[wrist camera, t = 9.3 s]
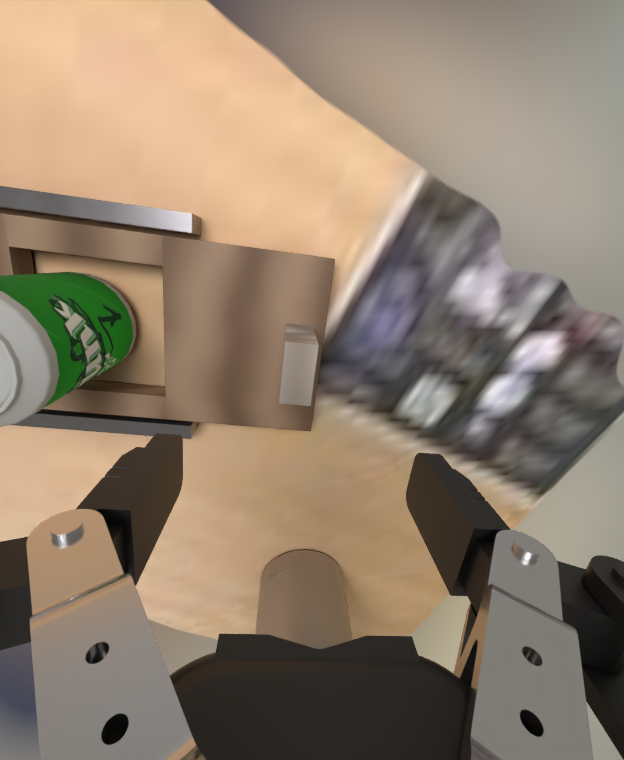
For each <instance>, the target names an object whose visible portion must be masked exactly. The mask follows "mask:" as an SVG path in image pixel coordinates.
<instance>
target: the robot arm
mask: <svg viewBox="0 0 624 760" xmlns="http://www.w3.org/2000/svg"><path fill="white" fill-rule="evenodd" d="M182 480H183V440H182V436H181V435H177V434H163V433H156V434H155V435H154V437H153V438H152V439H151V440H150V442H149V443H148V444H147V445H146V447H145V448H141V447H136V448H134V449H133V450H131V451H129V452H127V453H126V454H124V455H122V456H121V457H120V459H119V460H118V461H117V462H116V463H115V464H114V465H113V468H112V469H110V470H109V471H108V472H107V474H106V475H105V477H104V478H102V479H101V480H100V482H99V483H98V484H97V485H96V486H95V487H94V489H93V490H92V491H91V492H90V493H89V494H88V495H87V497H86V498H85V499H84V500H83V501H82V502H81V504H80V505H79V506H78V507H77V508H76V509H75V510H69V511H66V512H62V513H60V514H57V515H55V516H52V517H50V518H49V519H47V520H45V521H44V522H42V523H41V524H39V525H38V526H37V527H36V528H35V529H34V530H33V531H32V532H31V533H30V535H29V537H24V538H19V539H13V540H8V541H2V542H0V650H3V649H7V648H10V647H14V646H17V645H21V644H25V643H28V642H31V645H32V658H33V671H34V684H35V696H36V707H37V708H36V709H37V722H38V734H39V746H40V759H41V760H593V753H592V745H591V737H590V728H589V722H588V712H587V705H586V701H587V703H588V704H589V706H590V707H591V709H592V711H593V712H594V714H595V715H596V717H597V718H598V720H599V722H600V723H601V725H602V726H603V727H604V730H605V731H606V733H607V734H608V736H609V737H610V739H611V741H612V742H613V744H614V745H615V747H616V748H617V750H618V752H619V753H620V755H621V756H622V758H623V759H624V562H622V561H620V560H618V559H615V558H612V557H608V556H595V557H593V558H592V559H591V561H590V563H589V565H588V567H587V569H583V568H579V567H576V566H572V565H569V564H565V563H562V562H559V561H557V560H556V558H555V557H554V555H553V554H552V553H551V551H550V550H549V549H548V548H546V547H545V546H544V545H543V544H542V543H540V542H539V541H537V540H536V539H534V538H532V537H530V536H528V535H526V534H524V533H521V532H518V531H514V530H510V528H509V527H508V526H507V525H506V524H505V522H504V521H503V520H502V519H501V518H500V516H499V515H498V514H497V513H496V512H495V510H494V509H493V508H492V507H491V506H490V504H489V503H488V502H487V501H485V498H484V497H483V496H482V495H481V493H480V492H477V489H476V487H475V486H474V485H473V484H472V483H471V481H470V480H469V479H468V478H466V477H465V476H464V475H462V474H461V473H459V472H458V471H457V470H455V469H452V468H451V466H450V465H449V464H448V463H447V461H446V460H445V459H444V458H443V456H442V455H440V454H430V453H418V454H417V455H416V456H415V459H414V463H413V467H412V471H411V475H410V479H409V482H408V486H407V491H406V501H407V506H408V509H409V511H410V513H411V515H412V517H413V519H414V521H415V523H416V525H417V527H418V529H419V531H420V534H421V536H422V538H423V540H424V542H425V544H426V546H427V548H428V550H429V552H430V554H431V556H432V558H433V560H434V562H435V564H436V566H437V568H438V571H439V573H440V575H441V577H442V579H443V581H444V583H445V585H446V587H447V589H448V591H449V593H450V595H451V596H468V598H469V600H470V605H469V608H468V610H467V615H466V619H465V624H464V628H463V633H462V638H461V642H460V647H459V652H458V656H457V661H456V665H455V670H454V673H452V672H450V671H449V670H447V669H446V668H444V667H442V666H441V665H439V664H437V663H435V662H433V661H431V660H429V659H426V658H424V657H422V656H418V654H417V651H416V648H415V645H414V642H413V639H412V637H410V636H365V637H361V638H358V639H354V640H353V638H352V632H351V626H350V620H349V614H348V607H347V601H346V595H345V589H344V583H343V577H342V572H341V570H340V567H339V566H338V564H337V563H336V562H335V561H334V560H333V559H332V558H330V557H329V556H327V555H325V554H323V553H320V552H316V551H310V550H298V551H292V552H288V553H285V554H283V555H280V556H278V557H277V558H275V559H274V560H272V561H271V562H270V563H269V564H268V565H267V566H266V568H265V569H264V571H263V573H262V576H261V581H260V592H259V603H258V613H257V622H256V633H255V634H219V638H218V644H217V649H216V653H212V654H209V655H206V656H203V657H201V658H199V659H196V660H194V661H192V662H190V663H188V664H187V665H185V666H183V667H181V668H180V669H178V670H177V671H175V672H174V673H173V674H171V675H170V676H169V674H168V671H167V669H166V666H165V663H164V660H163V658H162V655H161V653H160V650H159V647H158V645H157V642H156V639H155V637H154V634H153V631H152V629H151V626H150V624H149V621H148V618H147V616H146V613H145V610H144V608H143V605H142V602H141V600H140V597H139V595H138V592H137V589H136V587H135V586H136V584H137V582H138V580H139V578H140V576H141V574H142V572H143V570H144V567H145V565H146V563H147V561H148V559H149V557H150V555H151V553H152V551H153V548H154V546H155V544H156V542H157V540H158V538H159V536H160V534H161V532H162V529H163V527H164V525H165V523H166V521H167V519H168V517H169V515H170V513H171V511H172V508H173V506H174V504H175V502H176V500H177V498H178V496H179V493H180V490H181V486H182Z"/></svg>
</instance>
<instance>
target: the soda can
mask: <svg viewBox="0 0 624 760" xmlns="http://www.w3.org/2000/svg"><path fill="white" fill-rule="evenodd" d="M135 339H136V321H135V319H134V316H133V313H132V311H131V308H130V306H129V304H128V303H127V302H126V300H125V299H124V298H123V296H122V295H121V294H120V292H118V291H117V290H116V289H115V288H113V287H112V286H111V285H110V284H108V283H107V282H106V281H104V280H101V279H99V278H97V277H94V276H92V275H90V274H84V273H76V272H60V273H41V274H22V275H3V276H0V427H1V426H6V425H11V424H16V423H19V422H21V421H23V420H24V419H26V418H28V417H29V416H31V415H33V414H35V413H36V412H38V411H40V410H41V409H43V408H45V407H46V406H48V405H50V404H51V403H53V402H55V401H56V400H58V399H60V398H61V397H63V396H65V395H66V394H68V393H70V392H71V391H73V390H75V389H76V388H78V387H80V386H81V385H83V384H85V383H86V382H88V381H90V380H91V379H93V378H95V377H96V376H98V375H100V374H101V373H103V372H105V371H106V370H108V369H110V368H111V367H113V366H115V365H116V364H118V363H120V362H121V361H123V360H124V359H125V358H126V356H127V355H128V354H129V353H130V351H131V350H132V348H133V345H134V342H135Z"/></svg>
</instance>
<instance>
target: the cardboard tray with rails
mask: <svg viewBox="0 0 624 760" xmlns="http://www.w3.org/2000/svg"><path fill="white" fill-rule="evenodd" d="M31 249H33V250H41V251H49V252H57V253H64V254H72V255H80V256H88V257H96V258H104V259H111V260H119V261H127V262H135V263H143V264H151V265H158V266H163V300H164V345H165V387H159V386H148V385H137V384H127V383H116V382H105V381H94V380H90V381H88V382H86V383H85V384H83V385H81V386H80V387H78V388H76V389H75V390H73V391H71V392H70V393H68V394H66V395H65V396H63V397H61V398H60V399H58V400H56V401H55V402H53V403H51V404H50V405H48V406H46V407H45V408H43V409H49V410H61V411H73V412H85V413H97V414H109V415H121V416H133V417H145V418H157V419H169V420H181V421H193V422H205V423H217V424H229V425H241V426H253V427H265V428H277V429H289V430H301V431H311V426H312V419H313V412H314V405H315V398H316V391H317V383H318V376H319V369H320V362H321V355H322V348H323V341H324V334H325V327H326V320H327V312H328V305H329V298H330V291H331V284H332V277H333V270H334V263H335V259H332V258H325V257H317V256H310V255H303V254H295V253H288V252H281V251H273V250H266V249H259V248H251V247H244V246H237V245H229V244H222V243H215V242H207V241H200V240H193V239H186V238H178V237H171V236H164V235H156V234H149V233H142V232H134V231H127V230H120V229H112V228H105V227H98V226H90V225H83V224H76V223H68V222H61V221H54V220H47V219H39V218H32V217H25V216H17V215H10V214H3V213H0V276H3V275H22V274H34V268H33V261H32V254H31Z"/></svg>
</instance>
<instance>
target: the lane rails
mask: <svg viewBox="0 0 624 760" xmlns="http://www.w3.org/2000/svg"><path fill="white" fill-rule="evenodd" d="M0 208H6V209H13V210H20V211H27V212H34V213H42V214H49V215H56V216H63V217H71V218H78V219H85V220H92V221H100V222H107V223H114V224H121V225H129V226H136V227H143V228H150V229H157V230H165V231H172V232H179V233H186V234H194V235H201V218H200V217H198V216H196V215H194V214H191V213H184V212H177V211H170V210H163V209H157V208H150V207H143V206H136V205H129V204H122V203H115V202H108V201H101V200H94V199H87V198H80V197H73V196H66V195H60V194H53V193H46V192H39V191H32V190H25V189H18V188H11V187H4V186H0ZM11 425H19V426H32V427H45V428H57V429H70V430H83V431H96V432H109V433H122V434H134V435H147V436H154V435H155V434H156V433H163V434H177V435H181V436H182V438H186V439H191V437H192V436H193V434H194V432H195V430H196V429H197V427H198V422H193V421H181V420H169V419H157V418H145V417H133V416H121V415H109V414H97V413H85V412H73V411H61V410H49V409H41V410H40V411H38V412H36V413H35V414H33V415H31V416H29V417H28V418H26V419H24V420H23V421H21V422H19V423H16V424H11Z"/></svg>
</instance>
